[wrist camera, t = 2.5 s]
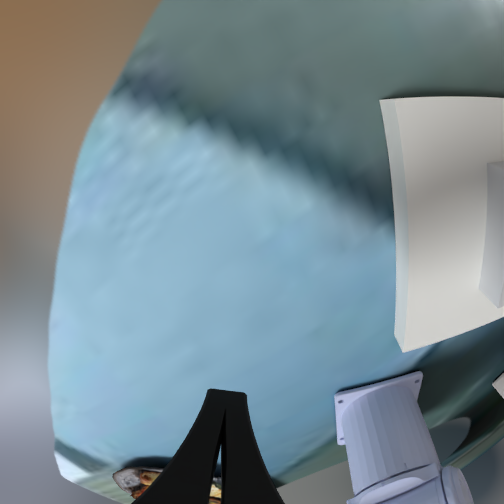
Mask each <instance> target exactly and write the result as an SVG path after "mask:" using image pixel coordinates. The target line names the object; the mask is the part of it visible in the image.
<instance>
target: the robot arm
mask: <svg viewBox="0 0 504 504" xmlns="http://www.w3.org/2000/svg"><path fill="white" fill-rule="evenodd" d="M422 378H423V374H422V372H421V371H417V372H414V373H411V374H407V375H404V376H401V377H397V378H394V379H390V380H387V381H383V382H379V383H375V384H372V385H368V386H364V387H359V388H355V389H351V390H347V391H342V392H338V393H336V394H335V396H334V399H335V412H336V427H337V442H338V444H339V445H344V444H346V450H347V456H348V461H349V466H350V473H351V478H352V485H353V491H354V498H352V499H349V500H347V504H474V503H473V499H472V496H471V493H470V490H469V488H468V485H467V482H466V480H465V478H464V476H463V474H462V472H461V471H460V469H459V468H456V467H452V466H450V465H449V466H447V467H445V468H443V467H442V466H441V465H440V462H439V460H438V456H437V453H436V450H435V448H434V445H433V442H432V440H431V437H430V434H429V431H428V428H427V426H426V423H425V421H424V418H423V416H422V413H421V411H420V408H419V406H418V403H417V399H418V395H419V391H420V387H421V382H422ZM220 446H221V503H220V504H285V503H284V502H283V500H282V498H281V496H280V495H279V493H278V491H277V489H276V487H275V485H274V483H273V481H272V479H271V477H270V475H269V473H268V471H267V469H266V466H265V464H264V461H263V459H262V456H261V454H260V451H259V448H258V445H257V442H256V439H255V436H254V432H253V429H252V425H251V421H250V416H249V411H248V404H247V395H246V394H245V393H244V392H235V391H226V390H219V389H209V390H208V391H207V394H206V397H205V400H204V403H203V405H202V408H201V410H200V412H199V414H198V416H197V418H196V420H195V422H194V424H193V426H192V428H191V429H190V431H189V433H188V435H187V437H186V438H185V440H184V441H183V443H182V444H181V446H180V447H179V449H178V451H177V452H176V454H175V455H174V456H173V458H172V459H171V460H170V462H169V463H168V464H167V466H166V467H165V468H164V470H163V471H162V472H161V473H160V474H159V476H158V477H157V478H156V479H155V480H154V481H153V482H152V484H151V485H150V486H149V487H148V488H147V489H146V490H145V491H144V492H143V493H142V494H141V495H140V496H139V497H138V498H137V499H136V500H135V501H134V502H133V503H131V504H209V499H210V493H211V487H212V483H213V478H214V474H215V469H216V465H217V460H218V455H219V451H220Z"/></svg>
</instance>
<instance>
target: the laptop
mask: <svg viewBox="0 0 504 504" xmlns="http://www.w3.org/2000/svg"><path fill="white" fill-rule="evenodd" d="M492 385H493V386H494V388H495V389H496V390H497V391H498V392H499V393H500V394H501V396H502V397H503V398H504V373H503V374H502V375H501V376H500V377H499V378H498V379H497V380H496V381H495V382H494V383H493V384H492Z"/></svg>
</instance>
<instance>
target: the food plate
mask: <svg viewBox="0 0 504 504" xmlns="http://www.w3.org/2000/svg"><path fill="white" fill-rule="evenodd" d="M163 470H164V468H158V467H147V466H141V467H126V468H124V469H121V470H119V471H117V472H115V473H114V474H113V476H112V477H113V479H114V481H115V482H116V483H117V484H118V486H119V487H120V488H121V489H122V490H124V491H126V492H127V493H130V494H131V495H130V496H133V498H134V499H137V498H138V497H139V496H140V495H141V494H142V493H143V492H144V491H145V490H146V489H147V488H148V487H149V486H150V485H151V484H152V482H153V481H154V480H155V479H156V478H157V477H158V476H159V474H160V473H161V472H162V471H163ZM220 503H221V478H220V477H218V479H217V478H213V483H212V487H211V493H210V499H209V504H220Z"/></svg>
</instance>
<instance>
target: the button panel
mask: <svg viewBox="0 0 504 504" xmlns="http://www.w3.org/2000/svg"><path fill="white" fill-rule="evenodd" d="M379 101H380V106H381V111H382V117H383V122H384V128H385V135H386V141H387V148H388V156H389V163H390V172H391V181H392V192H393V204H394V218H395V238H396V311H395V331H394V335H395V337H396V339H397V341H398V343H399V345H400V348H401V350H402V352H403V353H404V352H407V351H411V350H414V349H417V348H420V347H424V346H427V345H430V344H433V343H436V342H439V341H442V340H445V339H448V338H451V337H453V336H456V335H459V334H462V333H464V332H467V331H470V330H472V329H475V328H478V327H480V326H483V325H485V324H488V323H490V322H492V321H495V320H497V319H499V318H502V317H504V98H493V97H464V96H444V97H413V98H397V99H384V100H379Z"/></svg>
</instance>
